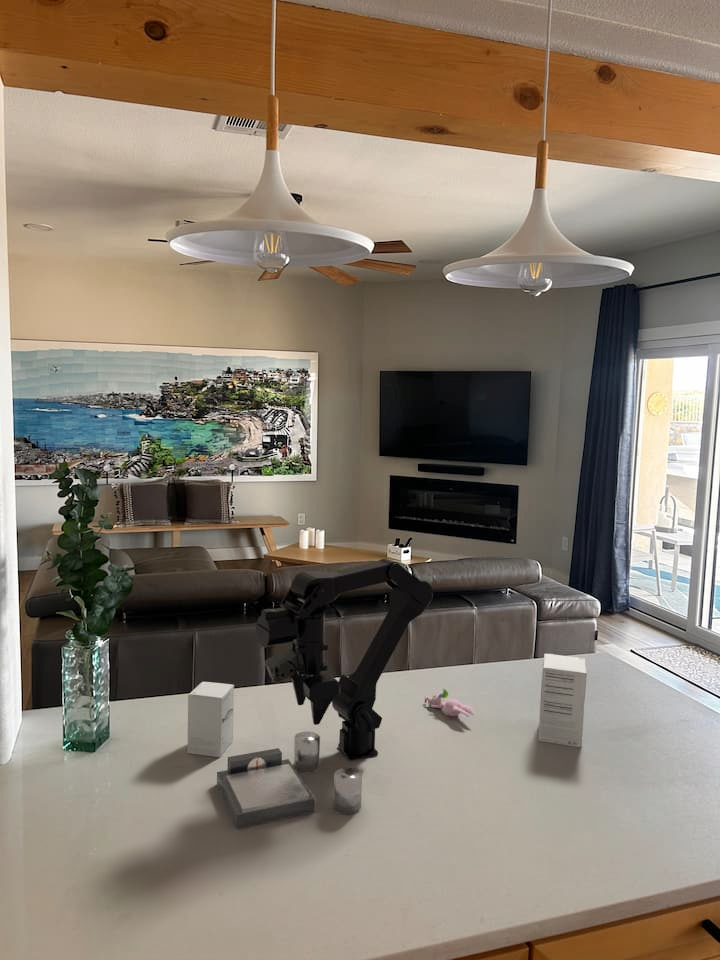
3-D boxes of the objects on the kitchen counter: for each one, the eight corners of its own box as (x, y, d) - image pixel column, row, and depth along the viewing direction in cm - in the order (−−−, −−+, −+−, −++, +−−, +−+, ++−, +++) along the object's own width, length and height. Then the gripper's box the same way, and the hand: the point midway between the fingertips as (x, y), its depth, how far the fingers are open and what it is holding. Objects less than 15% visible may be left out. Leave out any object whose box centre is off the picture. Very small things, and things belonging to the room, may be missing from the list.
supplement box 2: (539, 722, 165) (543, 652, 163) (581, 729, 163) (586, 657, 161) (537, 741, 156) (542, 666, 154) (582, 748, 153) (587, 672, 151)
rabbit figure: (419, 711, 172) (461, 726, 160) (417, 686, 172) (459, 699, 160) (439, 706, 176) (481, 720, 163) (437, 681, 176) (480, 693, 163)
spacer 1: (314, 757, 146) (314, 729, 145) (322, 769, 141) (323, 740, 141) (290, 762, 144) (291, 733, 143) (298, 774, 139) (299, 745, 138)
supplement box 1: (220, 758, 144) (221, 698, 143) (186, 753, 146) (186, 694, 144) (234, 741, 152) (235, 683, 150) (201, 737, 153) (201, 680, 152)
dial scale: (288, 770, 140) (288, 746, 140) (314, 811, 127) (315, 785, 126) (216, 784, 135) (217, 758, 134) (236, 828, 121) (237, 800, 121)
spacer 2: (354, 796, 132) (355, 765, 131) (365, 811, 128) (366, 779, 127) (329, 802, 130) (329, 770, 129) (339, 817, 125) (340, 784, 125)
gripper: (256, 627, 145) (255, 701, 147) (284, 659, 128) (283, 742, 130) (308, 621, 149) (307, 693, 151) (342, 651, 132) (340, 732, 134)
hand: (308, 714), depth 141 cm, fingers open, 9 cm apart
